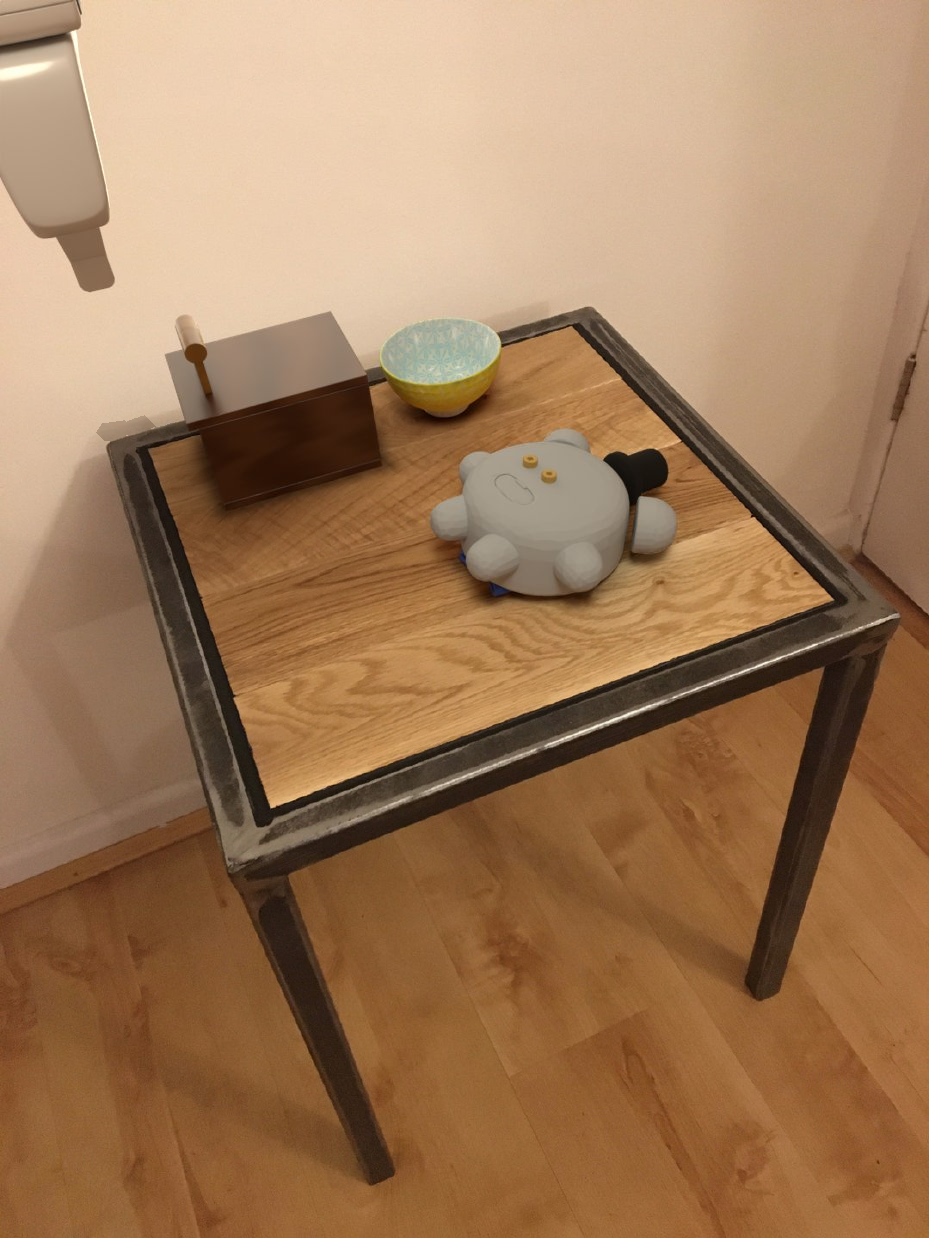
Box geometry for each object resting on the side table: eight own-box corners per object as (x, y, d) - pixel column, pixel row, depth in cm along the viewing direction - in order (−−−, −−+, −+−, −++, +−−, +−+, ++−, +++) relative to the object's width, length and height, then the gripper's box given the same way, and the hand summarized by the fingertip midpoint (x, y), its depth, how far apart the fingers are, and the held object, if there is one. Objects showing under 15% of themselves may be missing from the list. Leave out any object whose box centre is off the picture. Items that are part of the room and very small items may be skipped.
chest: (225, 511, 84) (198, 429, 78) (202, 439, 92) (175, 359, 86) (382, 465, 87) (368, 383, 81) (347, 399, 95) (332, 319, 88)
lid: (188, 432, 78) (168, 372, 74) (166, 361, 85) (147, 304, 81) (368, 382, 81) (358, 323, 77) (332, 318, 88) (321, 261, 84)
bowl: (364, 403, 94) (354, 347, 90) (457, 358, 98) (452, 303, 94) (432, 456, 88) (425, 399, 83) (528, 405, 92) (526, 348, 87)
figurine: (511, 658, 70) (716, 568, 78) (518, 571, 64) (739, 482, 72) (397, 529, 81) (588, 461, 88) (394, 444, 75) (599, 379, 82)
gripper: (-90, -84, 49) (19, 187, 59) (-97, 22, 36) (45, 348, 46) (36, -103, 50) (121, 166, 60) (74, -7, 37) (175, 317, 47)
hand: (88, 246), depth 53 cm, fingers open, 8 cm apart
